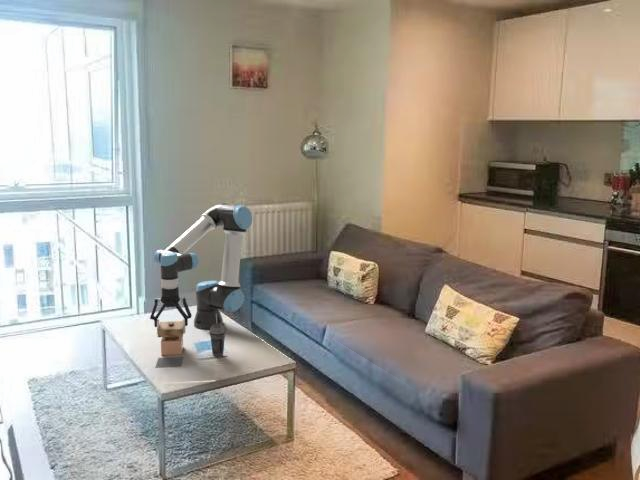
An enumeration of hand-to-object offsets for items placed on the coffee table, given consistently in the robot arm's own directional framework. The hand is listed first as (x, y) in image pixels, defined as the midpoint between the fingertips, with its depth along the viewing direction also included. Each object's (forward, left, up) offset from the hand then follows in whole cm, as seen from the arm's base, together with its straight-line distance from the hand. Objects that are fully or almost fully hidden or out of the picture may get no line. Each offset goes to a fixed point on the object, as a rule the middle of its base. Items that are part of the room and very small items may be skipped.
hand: (171, 333), depth 271 cm
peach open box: (0, 0, -9) cm, 9 cm away
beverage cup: (-21, +7, -10) cm, 24 cm away
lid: (0, 0, 0) cm, 0 cm away
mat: (0, +13, -9) cm, 16 cm away
